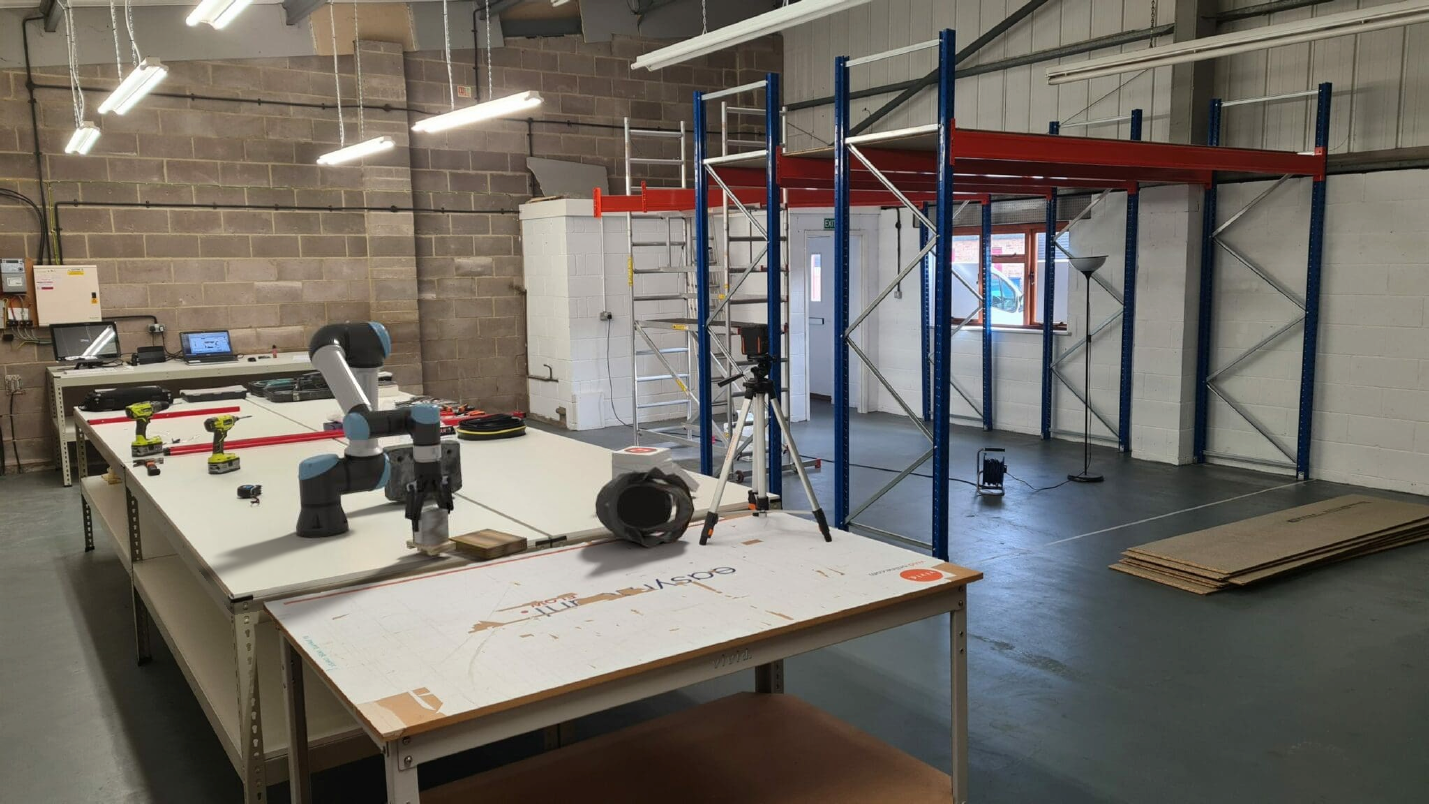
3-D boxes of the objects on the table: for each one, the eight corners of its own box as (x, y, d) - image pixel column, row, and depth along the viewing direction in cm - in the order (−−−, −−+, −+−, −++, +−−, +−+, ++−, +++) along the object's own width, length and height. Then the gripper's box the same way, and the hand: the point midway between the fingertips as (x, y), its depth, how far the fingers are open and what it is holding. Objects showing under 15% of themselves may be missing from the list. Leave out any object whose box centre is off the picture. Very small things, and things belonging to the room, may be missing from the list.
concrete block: (455, 492, 358) (452, 438, 355) (464, 497, 350) (461, 441, 348) (381, 502, 342) (378, 446, 340) (388, 507, 335) (385, 449, 333)
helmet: (708, 470, 289) (665, 470, 310) (614, 462, 272) (574, 463, 293) (704, 550, 287) (660, 545, 307) (608, 547, 269) (569, 542, 290)
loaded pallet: (431, 555, 269) (430, 516, 268) (406, 547, 277) (404, 509, 275) (456, 549, 275) (454, 511, 274) (430, 541, 283) (429, 504, 282)
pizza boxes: (703, 496, 348) (703, 446, 345) (639, 510, 327) (638, 457, 324) (667, 488, 361) (666, 440, 359) (603, 502, 340) (602, 450, 338)
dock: (487, 559, 271) (487, 548, 271) (448, 548, 283) (448, 538, 282) (527, 548, 282) (527, 537, 282) (488, 538, 293) (487, 528, 293)
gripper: (403, 466, 263) (407, 549, 266) (465, 455, 278) (468, 534, 281) (388, 463, 267) (391, 544, 270) (449, 452, 283) (452, 530, 286)
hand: (430, 539), depth 276 cm, fingers closed on loaded pallet, 7 cm apart
